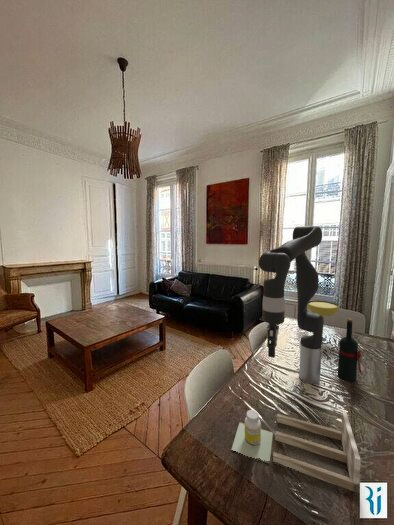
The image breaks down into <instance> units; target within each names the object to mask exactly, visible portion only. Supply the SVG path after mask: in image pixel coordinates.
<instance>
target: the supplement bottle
mask: <svg viewBox="0 0 394 525" xmlns="http://www.w3.org/2000/svg"><path fill="white" fill-rule="evenodd" d="M244 424H245V441H246V443H247V444H248V445H249V446H251V447H257V446H259V445H260V443H261V429H262V423H261V420H260V416H259V412H257V411H256V410H254V409H249V410H247V411H246V417H245V418H244Z"/></svg>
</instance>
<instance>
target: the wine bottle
mask: <svg viewBox="0 0 394 525" xmlns="http://www.w3.org/2000/svg"><path fill="white" fill-rule="evenodd" d="M345 333H346V335H345V336H344V337H341V339H339V343H338V344H339V346H338V361H337V377H338V379H340V380H342V381H343V382H347V383H352V382H353V383H356V382H357V374H358V373H357V371H359V373H360V376H362V375H363V372H362V370H361V362H360V358H361V357H362V353H361V352H362V351H361V350H358V349H359V344H358V341H357V340H355V339H354V338H353V337H352V336H353V335H352V334H353V318H349V317H348V318H347V321H346V332H345ZM357 369H358V370H357Z"/></svg>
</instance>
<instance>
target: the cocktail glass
mask: <svg viewBox="0 0 394 525" xmlns="http://www.w3.org/2000/svg"><path fill="white" fill-rule="evenodd" d="M307 310H309V311H310V312H311V313H316V314H320V315H322V316H323V319H324V320H325V318H326V317H331V316H333V315H336V314H337V313H338V311H339V305H338V304H336V303H334V302H330V301H325V300H310V301H309V303H308V305H307ZM323 337H324V336H322V341H326V339H325V338H326V337H325V338H323Z"/></svg>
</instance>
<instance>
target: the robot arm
mask: <svg viewBox="0 0 394 525" xmlns="http://www.w3.org/2000/svg"><path fill="white" fill-rule="evenodd" d="M322 240H323V230H322V228H321V227H320V226H318V225H301V226H298V225H297V226H296V227H294V228H293V231H292V239H291V240H287V241H286V242H284V243H283V244H282V245H280V246H279V247H276V248H273V249H270V250H267V251H265V252H264V253H262V254H261V255H260V257H259V259H258V267H259V268H260V270H262V271H263V272H265V273H272V274H273V273H275V274H276V275H275V277H273V278H267V279H264V281H263V296H262V317H261V318H262V320H263V322H264V323H268V324H267V327H266V332H267V333H266V339H267V344H266V346H267V348H268V351H267V356H268V357H270V358H275V356H276V348H277V345H278V344H277V343H278V336H279V330H280V325H281V324H283V323H285V312H286V311H285V310H286V309H285V308H286V302H285V286H286V281H287V277H288V274H289V272H290V269H291V263H292V262H293V261H294V260H295V273H296V274H295V275H296V276H295V279H296V280H295V281H296V292H297V315H296V316H297V320H296V321H297V322H296V323H297V326H298V328H299V329H300V330H302V331H304V332H309V333H312V335H304V336H301V338H300V342H299V343H300V346H299V374H298V375H299V378H300V380H301V381H303V382H304V383H307V384H312V385H317V384H319V383H320V382H321V367H322V344H323V343H322V337H323V333H324V325H325V324H324V322H325V318H324V319H323V316H322V315H320V314H316V313H313V312H311V311H310V312H309V311H308V303H309V302H310V301H312V300H311V299H313V298H314V296H315V295H316V293H317V292H318V290H319V273H318V271H317V270H316V268H315V266H314V265H313V264H312V263H311V261H310V260H309V259H308V256H307V255H306V252H307V251H309V250H312V249H313V248H316V247H318V246H319V245H320V244H321V243H322Z"/></svg>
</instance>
